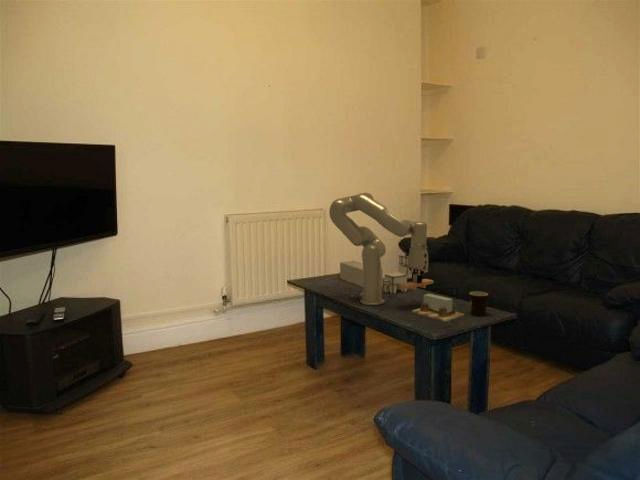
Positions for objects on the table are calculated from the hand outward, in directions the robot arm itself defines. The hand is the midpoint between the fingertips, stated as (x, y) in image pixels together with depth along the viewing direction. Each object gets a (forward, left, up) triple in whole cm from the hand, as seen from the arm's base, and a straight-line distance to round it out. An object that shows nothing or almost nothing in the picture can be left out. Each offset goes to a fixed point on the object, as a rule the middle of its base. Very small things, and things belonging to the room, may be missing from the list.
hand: (416, 281), depth 259 cm
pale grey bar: (+16, -3, -10) cm, 19 cm away
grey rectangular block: (-58, +15, -13) cm, 62 cm away
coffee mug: (+28, +13, -13) cm, 33 cm away
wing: (0, 0, -3) cm, 3 cm away
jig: (+16, -3, -13) cm, 20 cm away
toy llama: (-28, +15, -13) cm, 34 cm away
